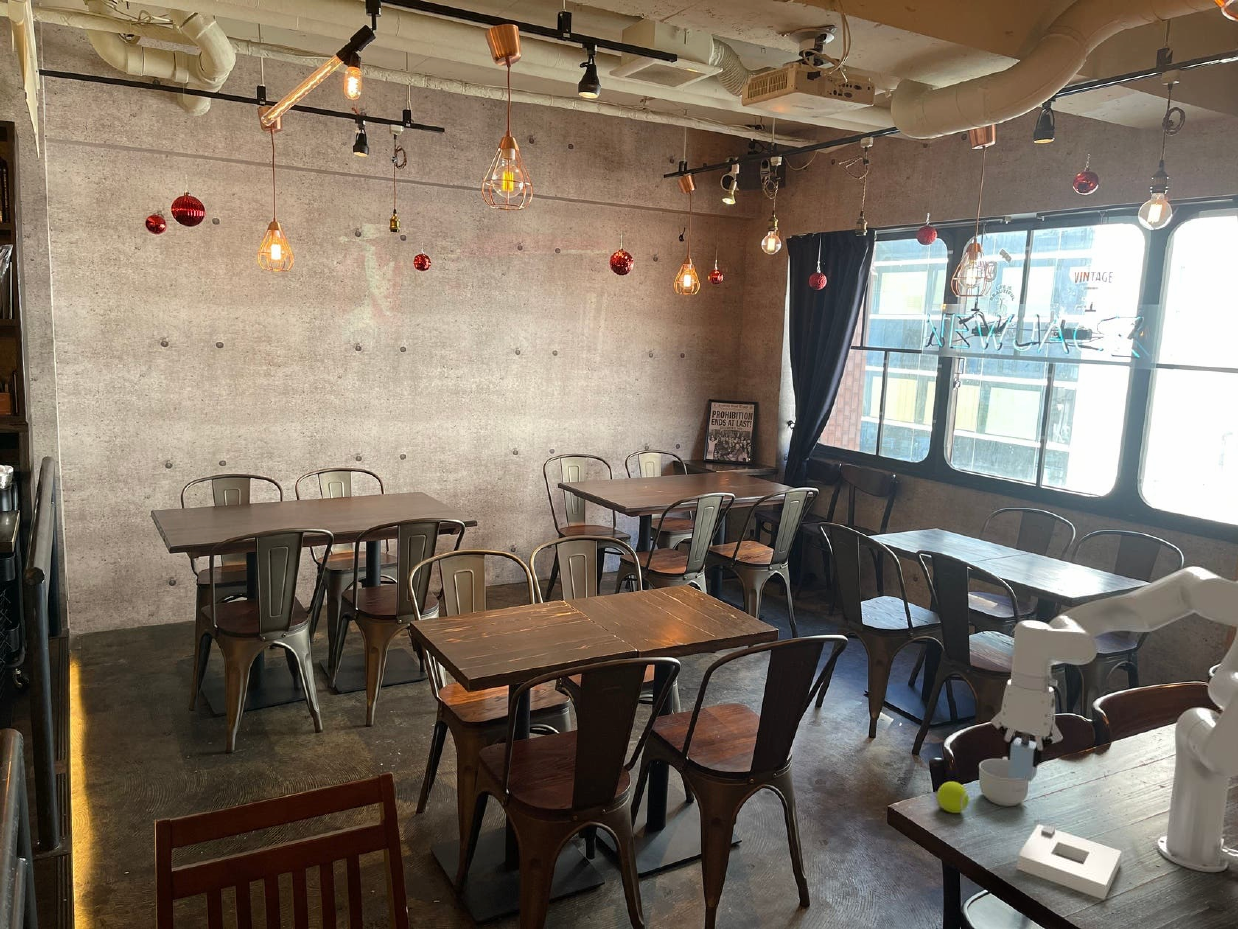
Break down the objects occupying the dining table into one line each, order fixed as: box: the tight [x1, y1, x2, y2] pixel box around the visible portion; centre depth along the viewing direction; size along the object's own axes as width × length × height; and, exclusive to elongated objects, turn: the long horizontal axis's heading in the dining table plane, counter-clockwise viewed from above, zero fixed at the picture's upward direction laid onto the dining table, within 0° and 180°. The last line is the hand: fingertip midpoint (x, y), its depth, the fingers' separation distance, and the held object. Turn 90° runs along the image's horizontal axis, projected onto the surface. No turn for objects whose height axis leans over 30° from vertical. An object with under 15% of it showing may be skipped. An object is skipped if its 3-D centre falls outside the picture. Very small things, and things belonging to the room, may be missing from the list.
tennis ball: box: [936, 781, 970, 814], centre depth 208 cm, size 7×7×7 cm
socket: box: [1016, 824, 1122, 901], centre depth 187 cm, size 16×16×4 cm
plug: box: [1009, 732, 1038, 782], centre depth 197 cm, size 4×4×9 cm
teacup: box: [978, 756, 1029, 807], centre depth 215 cm, size 14×11×8 cm
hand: (1023, 760), depth 197 cm, fingers closed on plug, 4 cm apart
